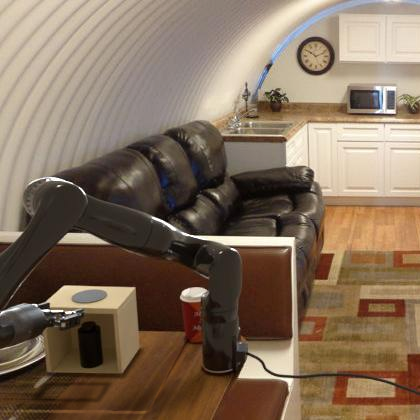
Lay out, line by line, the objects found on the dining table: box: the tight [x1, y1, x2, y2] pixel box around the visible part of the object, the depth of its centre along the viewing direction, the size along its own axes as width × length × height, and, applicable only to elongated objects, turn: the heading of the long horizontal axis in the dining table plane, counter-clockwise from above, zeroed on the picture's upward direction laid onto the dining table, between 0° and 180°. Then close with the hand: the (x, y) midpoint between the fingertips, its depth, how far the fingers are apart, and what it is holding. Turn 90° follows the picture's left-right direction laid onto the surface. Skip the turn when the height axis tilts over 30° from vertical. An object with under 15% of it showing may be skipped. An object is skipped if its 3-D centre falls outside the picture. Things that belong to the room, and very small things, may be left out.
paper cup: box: [179, 286, 208, 344], centre depth 177 cm, size 8×8×14 cm
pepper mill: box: [77, 321, 103, 368], centre depth 159 cm, size 5×5×11 cm
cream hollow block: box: [42, 285, 141, 374], centre depth 161 cm, size 18×13×19 cm
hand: (65, 309), depth 147 cm, fingers open, 8 cm apart
